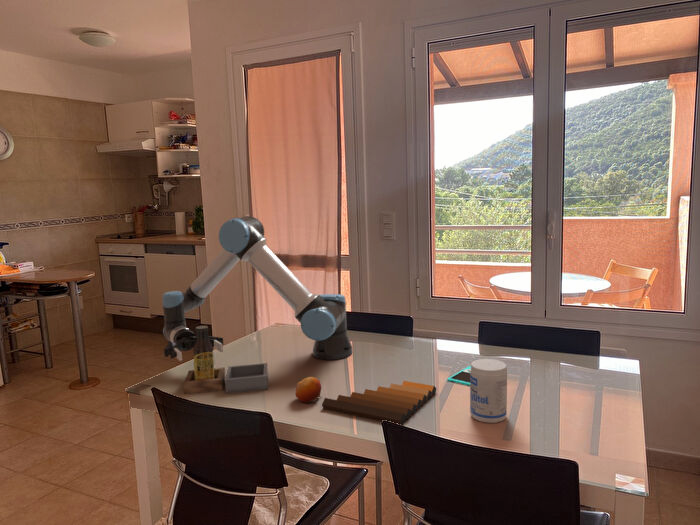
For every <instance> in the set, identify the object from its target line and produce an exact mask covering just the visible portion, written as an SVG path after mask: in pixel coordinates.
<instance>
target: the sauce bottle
mask: <svg viewBox="0 0 700 525" xmlns="http://www.w3.org/2000/svg"><path fill="white" fill-rule="evenodd" d="M195 333H196V334H195V335H196V337H197V341H196V343H195V346H194V348H193V365H194V366H193V367H194V369H193V370H194V372H195V380H206V379H214V368H215V364H214V351H213V347H212V344H211V342H210V341H209V338H208V336H209V326H208V325H200V326H196V327H195Z"/></svg>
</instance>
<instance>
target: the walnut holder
mask: <svg viewBox="0 0 700 525" xmlns="http://www.w3.org/2000/svg"><path fill="white" fill-rule="evenodd" d="M225 378H226V367H225V366H224V367H214V379H206V380H195V372H194V369H192V370H188V371H187V374H186V376H185V378H184V381H183V383H182V384H183V386H182V387H183V394H185V393H186V394H194V393H193V392H196V393H203V391H207V392H213V391H212V390H217V391H222V389H223V388H224V384H225ZM186 394H185V395H186Z"/></svg>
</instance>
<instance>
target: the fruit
mask: <svg viewBox="0 0 700 525" xmlns="http://www.w3.org/2000/svg"><path fill="white" fill-rule="evenodd" d="M321 391H322V383H321V381H320V380H319V379H318V378H316V377H315V376H308V377H305V378H303V379H301V381H298V382H297V383H296V386H295V397H296V399H297V400H298V401H300V402H301V403H304V404H305V403H306V404H308V403H311V402H312V403H313V402H314V403H317V400H318V398H322V396H321V393H322V392H321Z"/></svg>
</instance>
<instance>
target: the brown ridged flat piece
mask: <svg viewBox="0 0 700 525" xmlns="http://www.w3.org/2000/svg"><path fill="white" fill-rule="evenodd" d="M436 393H437V387H436V386H435V385H431V384H425V383H419V382H412V381H406V380H403V381H402V385H401V384H396V383H390V386H389V387H384V386H379V385H378V386H377V389H376V390H372V389H367V388H365V390H364V392H363V393H360V392H354V391H352V392H351V395H350V396H346V395H341V394H339V395H338V396H337V398H336V399H334V398H328V397H325V398H323V401H322V403H321V407H322V409H323V410H327V411H331V412H335V413H340V414H346V415H352V416H355V417H360V418H365V419H367V420H368V419H369V420H373V421H379V422H382V420H387V421H391V422H394V423H398V424H401V425H400V426H403V425H404V423H406V421H408V420H409V419H410V418H411V417H412V416H413V415H414V414H415V413H417V411H418V410H420V409H421V408H422V407H423V406H424V405H425V404H426V403H427V402H429V401H430V399H432V397H434V396H435V395H436Z"/></svg>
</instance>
